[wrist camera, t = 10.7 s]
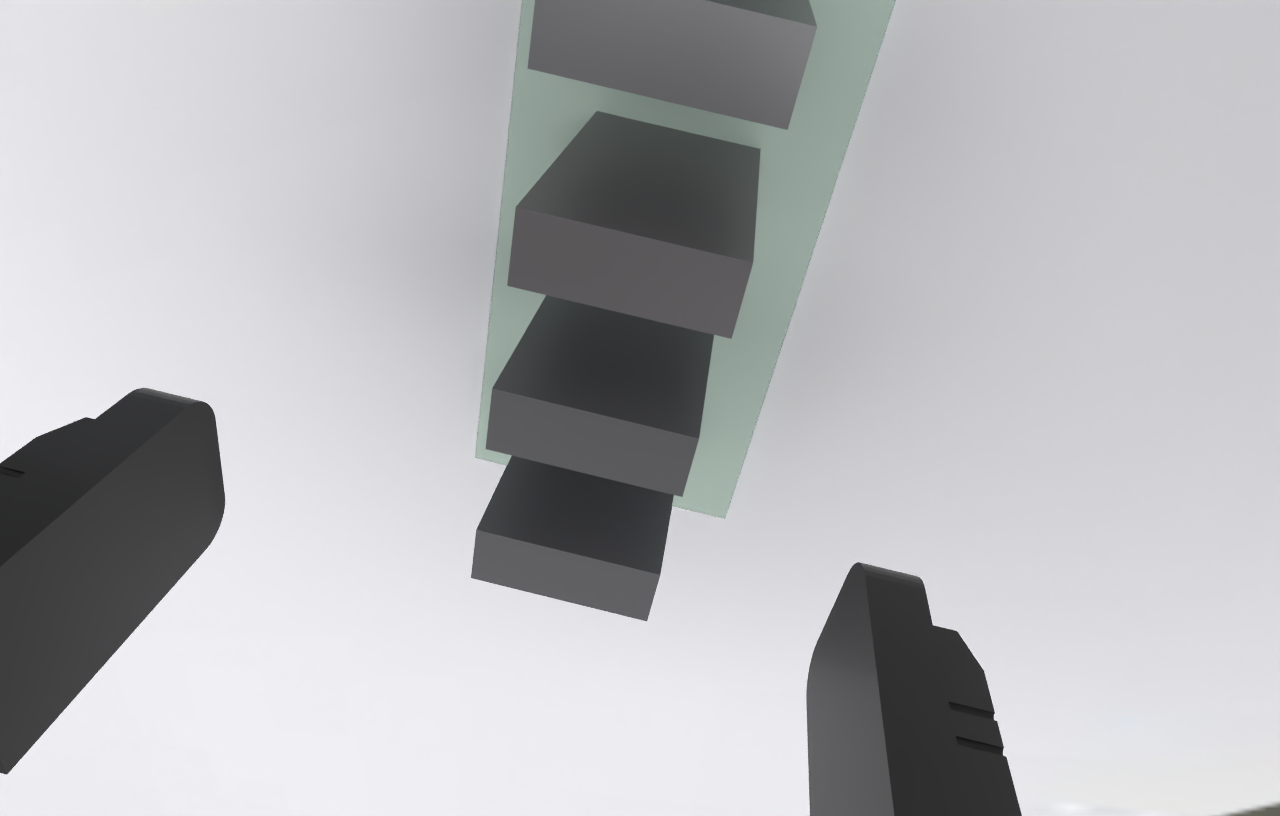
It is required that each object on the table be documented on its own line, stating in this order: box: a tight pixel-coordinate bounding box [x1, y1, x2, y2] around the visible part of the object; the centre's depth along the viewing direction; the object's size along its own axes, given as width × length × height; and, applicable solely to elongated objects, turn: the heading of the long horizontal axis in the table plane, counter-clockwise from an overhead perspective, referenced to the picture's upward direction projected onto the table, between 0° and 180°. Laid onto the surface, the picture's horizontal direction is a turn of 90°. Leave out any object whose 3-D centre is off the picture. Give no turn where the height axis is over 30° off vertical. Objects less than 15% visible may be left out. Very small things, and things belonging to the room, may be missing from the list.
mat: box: [475, 0, 896, 519], centre depth 25 cm, size 10×26×1 cm, turn 169°
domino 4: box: [471, 456, 674, 621], centre depth 26 cm, size 5×2×9 cm, turn 79°
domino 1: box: [527, 0, 817, 130], centre depth 19 cm, size 5×2×9 cm, turn 79°
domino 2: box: [507, 111, 761, 339], centre depth 21 cm, size 5×2×9 cm, turn 79°
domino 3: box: [485, 295, 714, 497], centre depth 23 cm, size 5×2×9 cm, turn 79°
